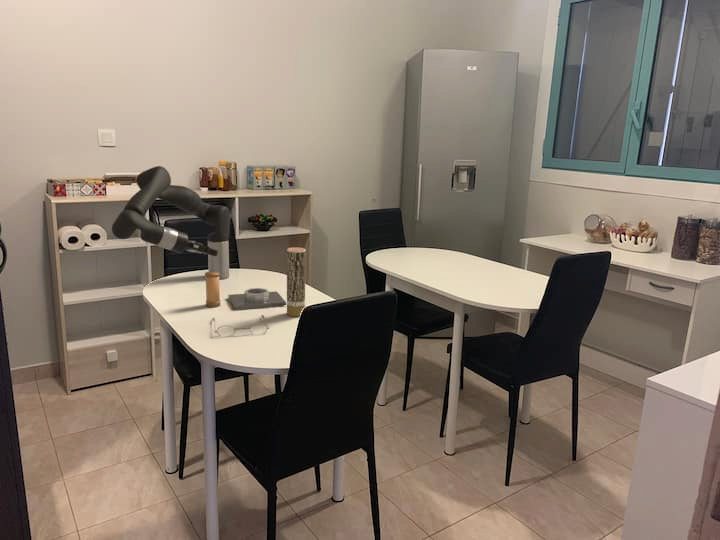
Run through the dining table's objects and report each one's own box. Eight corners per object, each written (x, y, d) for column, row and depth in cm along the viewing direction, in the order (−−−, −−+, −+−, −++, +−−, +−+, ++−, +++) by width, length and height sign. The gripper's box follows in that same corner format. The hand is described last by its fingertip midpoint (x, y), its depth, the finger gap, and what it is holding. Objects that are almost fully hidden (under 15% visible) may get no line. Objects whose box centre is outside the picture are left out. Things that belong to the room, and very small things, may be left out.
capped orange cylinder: (205, 304, 221) (204, 271, 218) (219, 302, 223) (218, 271, 220) (206, 308, 216) (205, 275, 213) (221, 306, 218) (220, 274, 215)
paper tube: (297, 310, 217) (297, 246, 211) (308, 314, 212) (309, 249, 206) (283, 313, 212) (283, 248, 206) (294, 318, 208) (294, 252, 202)
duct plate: (228, 298, 229) (228, 287, 228) (276, 294, 236) (276, 284, 235) (234, 310, 215) (234, 298, 214) (286, 305, 222) (286, 294, 221)
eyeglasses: (214, 338, 187) (214, 326, 186) (212, 321, 205) (212, 310, 204) (269, 334, 192) (269, 323, 191) (262, 318, 210) (262, 308, 209)
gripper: (182, 230, 196) (223, 244, 206) (167, 229, 207) (207, 242, 217) (175, 250, 195) (217, 264, 205) (161, 248, 206) (201, 261, 216)
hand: (212, 253), depth 211 cm, fingers open, 8 cm apart
